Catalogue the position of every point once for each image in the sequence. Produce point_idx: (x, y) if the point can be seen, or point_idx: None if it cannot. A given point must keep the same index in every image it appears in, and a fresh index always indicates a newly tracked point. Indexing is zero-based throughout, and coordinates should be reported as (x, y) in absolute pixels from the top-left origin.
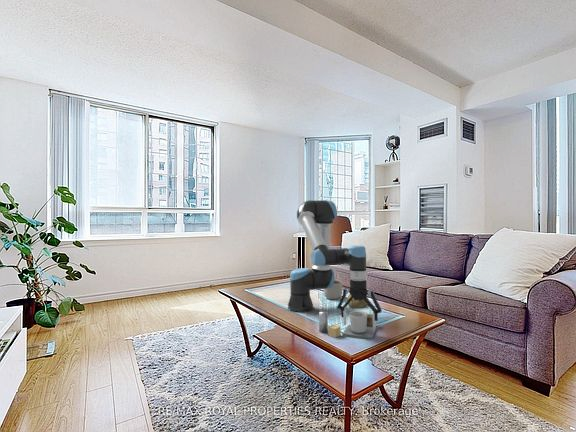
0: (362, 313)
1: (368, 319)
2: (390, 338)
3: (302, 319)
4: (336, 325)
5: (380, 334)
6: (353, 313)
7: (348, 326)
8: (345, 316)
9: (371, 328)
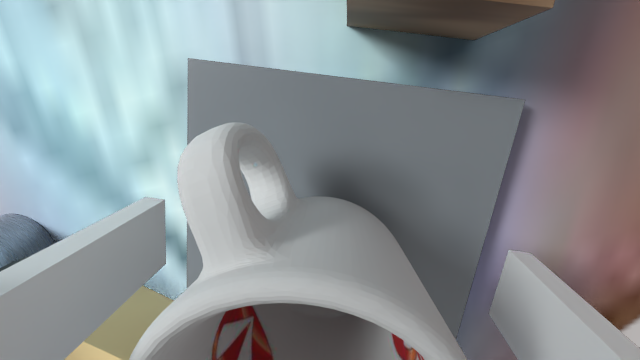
0: (386, 325)
1: (467, 10)
2: (615, 305)
3: None
4: (83, 342)
5: (537, 226)
6: (191, 329)
7: (201, 131)
8: (89, 302)
9: (465, 140)
